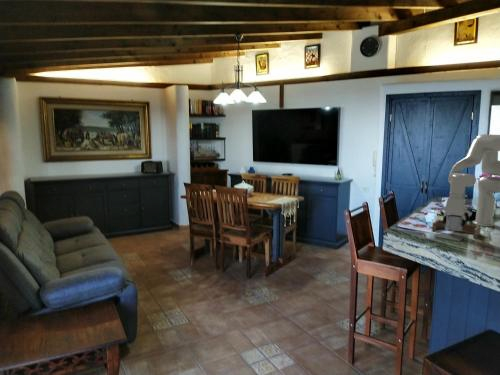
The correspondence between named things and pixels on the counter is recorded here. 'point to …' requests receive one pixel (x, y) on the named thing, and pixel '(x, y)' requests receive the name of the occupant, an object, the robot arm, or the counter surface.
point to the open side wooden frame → (465, 228)
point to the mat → (450, 236)
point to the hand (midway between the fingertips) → (453, 224)
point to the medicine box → (453, 223)
